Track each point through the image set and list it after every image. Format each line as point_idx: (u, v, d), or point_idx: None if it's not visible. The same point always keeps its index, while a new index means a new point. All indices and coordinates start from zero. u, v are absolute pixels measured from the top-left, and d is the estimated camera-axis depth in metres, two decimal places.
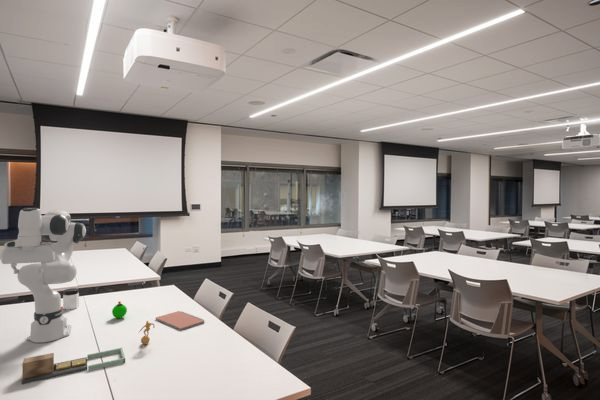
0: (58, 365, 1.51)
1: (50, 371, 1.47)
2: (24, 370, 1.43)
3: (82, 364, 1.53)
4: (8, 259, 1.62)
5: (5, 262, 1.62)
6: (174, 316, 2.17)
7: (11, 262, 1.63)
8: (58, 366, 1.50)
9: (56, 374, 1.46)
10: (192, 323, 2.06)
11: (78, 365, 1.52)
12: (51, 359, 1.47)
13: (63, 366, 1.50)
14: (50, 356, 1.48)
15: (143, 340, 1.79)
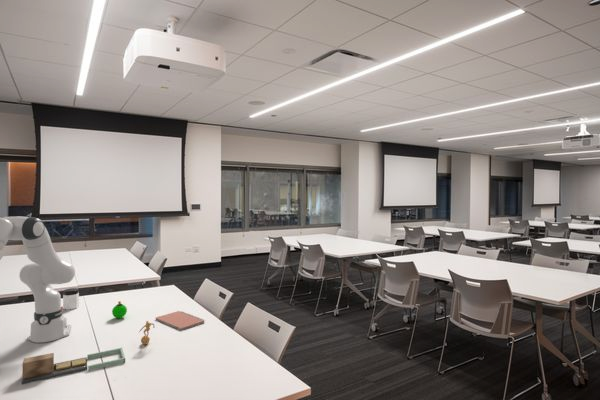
0: (58, 365, 1.51)
1: (50, 371, 1.47)
2: (24, 370, 1.43)
3: (82, 364, 1.53)
4: None
5: None
6: (174, 316, 2.17)
7: None
8: (58, 366, 1.50)
9: (56, 374, 1.46)
10: (192, 323, 2.06)
11: (78, 365, 1.52)
12: (51, 359, 1.47)
13: (63, 366, 1.50)
14: (50, 356, 1.48)
15: (143, 340, 1.79)
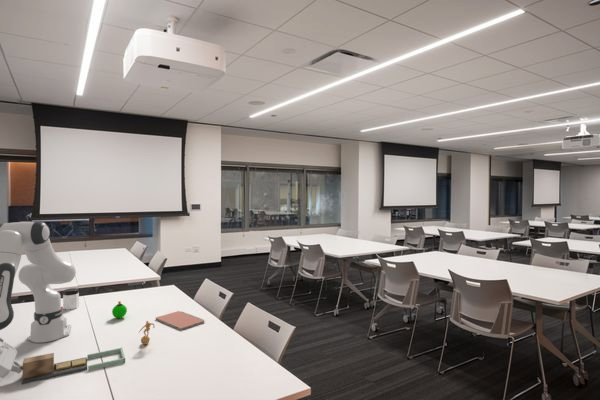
0: (58, 365, 1.51)
1: (50, 371, 1.47)
2: (24, 370, 1.43)
3: (82, 364, 1.53)
4: None
5: None
6: (174, 316, 2.17)
7: None
8: (58, 366, 1.50)
9: (56, 374, 1.46)
10: (192, 323, 2.06)
11: (78, 365, 1.52)
12: (51, 359, 1.47)
13: (63, 366, 1.50)
14: (51, 356, 1.48)
15: (143, 340, 1.79)
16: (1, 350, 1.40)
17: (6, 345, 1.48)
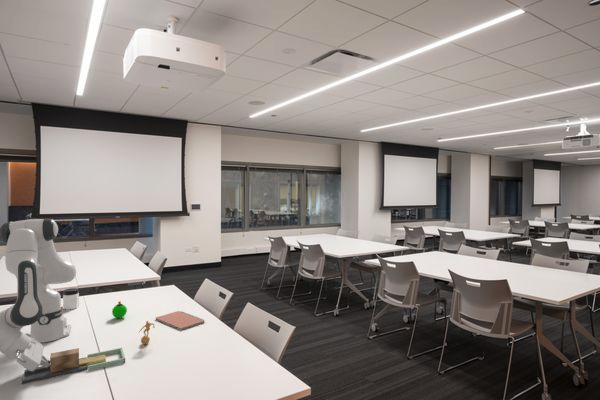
0: (80, 360, 1.55)
1: (76, 366, 1.52)
2: (52, 364, 1.47)
3: (102, 360, 1.57)
4: None
5: None
6: (174, 316, 2.17)
7: None
8: (81, 361, 1.54)
9: (56, 374, 1.46)
10: (192, 323, 2.06)
11: (98, 361, 1.56)
12: (77, 354, 1.52)
13: (85, 361, 1.55)
14: (76, 351, 1.53)
15: (143, 340, 1.79)
16: (30, 345, 1.45)
17: (33, 340, 1.52)
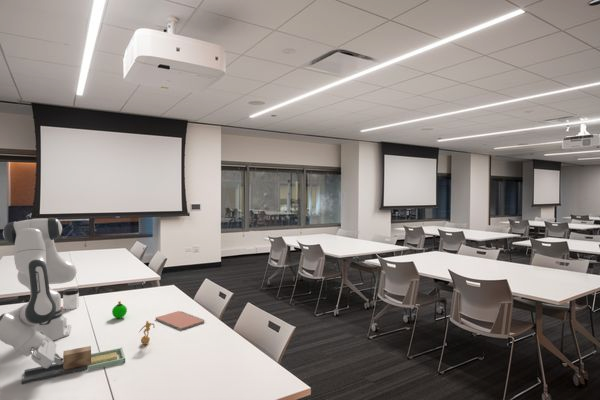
0: (92, 358, 1.58)
1: (88, 363, 1.54)
2: (65, 362, 1.50)
3: (114, 358, 1.59)
4: None
5: None
6: (174, 316, 2.17)
7: None
8: (93, 359, 1.57)
9: (56, 374, 1.46)
10: (192, 323, 2.06)
11: (110, 359, 1.59)
12: (89, 352, 1.54)
13: (97, 359, 1.57)
14: (88, 349, 1.55)
15: (143, 340, 1.79)
16: (43, 342, 1.47)
17: (46, 338, 1.55)
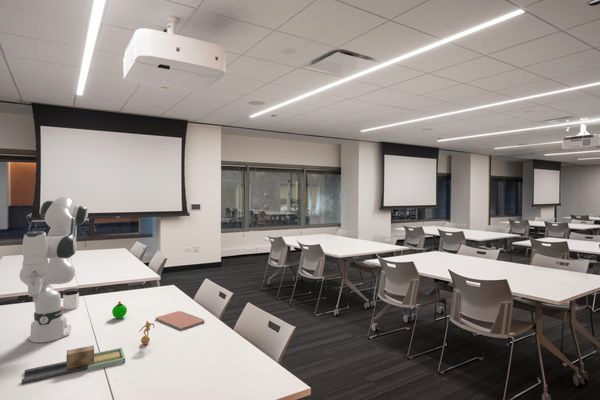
0: (95, 358, 1.58)
1: (91, 362, 1.55)
2: (68, 361, 1.50)
3: (116, 357, 1.60)
4: None
5: None
6: (174, 316, 2.17)
7: None
8: (95, 359, 1.57)
9: (56, 374, 1.46)
10: (192, 323, 2.06)
11: (113, 358, 1.59)
12: (92, 351, 1.55)
13: (100, 359, 1.57)
14: (91, 348, 1.56)
15: (143, 340, 1.79)
16: (43, 275, 1.54)
17: None
